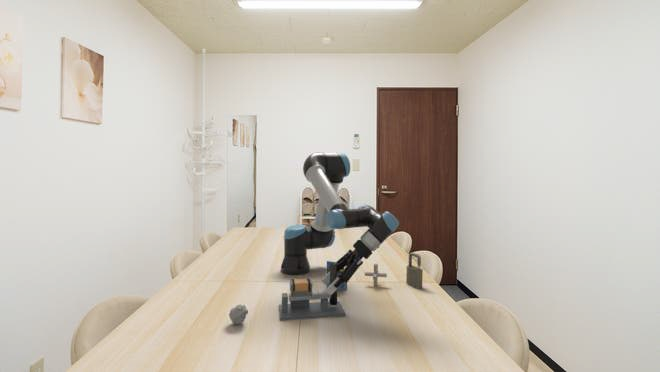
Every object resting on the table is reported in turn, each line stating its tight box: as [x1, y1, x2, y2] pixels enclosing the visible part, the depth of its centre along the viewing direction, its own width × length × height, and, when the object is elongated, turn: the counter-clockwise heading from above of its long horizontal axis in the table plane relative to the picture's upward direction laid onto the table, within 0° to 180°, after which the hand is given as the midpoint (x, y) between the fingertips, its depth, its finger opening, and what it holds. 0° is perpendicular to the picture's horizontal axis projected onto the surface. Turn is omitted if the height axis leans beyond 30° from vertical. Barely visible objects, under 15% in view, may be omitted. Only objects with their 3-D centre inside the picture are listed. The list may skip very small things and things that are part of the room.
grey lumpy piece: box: [228, 304, 249, 326], centre depth 124 cm, size 6×7×7 cm
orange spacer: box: [294, 279, 308, 292], centre depth 134 cm, size 5×5×5 cm
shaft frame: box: [278, 276, 347, 321], centre depth 135 cm, size 24×12×12 cm, turn 100°
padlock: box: [405, 252, 424, 289], centre depth 165 cm, size 4×8×15 cm, turn 28°
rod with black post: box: [288, 263, 338, 305], centre depth 135 cm, size 18×3×16 cm, turn 100°
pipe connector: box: [364, 263, 388, 287], centre depth 165 cm, size 10×10×10 cm
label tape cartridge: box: [326, 260, 348, 291], centre depth 161 cm, size 9×4×12 cm, turn 65°
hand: (325, 287), depth 136 cm, fingers open, 10 cm apart
